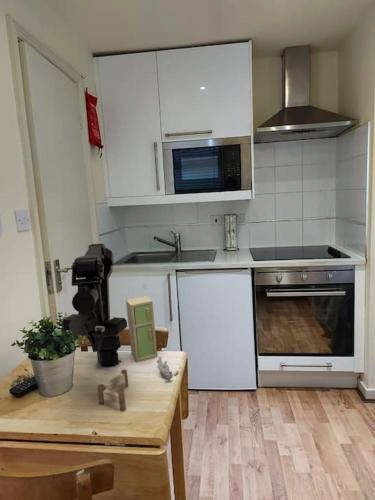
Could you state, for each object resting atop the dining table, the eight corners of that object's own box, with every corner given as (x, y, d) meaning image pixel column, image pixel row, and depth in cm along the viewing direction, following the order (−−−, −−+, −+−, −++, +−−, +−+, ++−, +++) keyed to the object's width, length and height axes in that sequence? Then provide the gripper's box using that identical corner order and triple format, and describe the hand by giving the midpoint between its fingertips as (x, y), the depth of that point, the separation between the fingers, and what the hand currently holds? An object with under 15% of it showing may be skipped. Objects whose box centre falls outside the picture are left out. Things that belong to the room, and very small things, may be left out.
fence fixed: (98, 406, 98) (96, 387, 97) (102, 402, 100) (100, 383, 98) (123, 414, 94) (121, 395, 93) (127, 410, 95) (125, 391, 94)
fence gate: (125, 383, 107) (124, 368, 106) (129, 385, 106) (127, 370, 105) (104, 399, 100) (102, 383, 99) (107, 401, 99) (106, 384, 98)
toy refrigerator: (136, 363, 120) (130, 305, 116) (130, 354, 127) (125, 299, 123) (158, 357, 123) (153, 301, 119) (151, 349, 130) (147, 295, 126)
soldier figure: (173, 366, 119) (185, 372, 108) (165, 379, 117) (177, 386, 106) (155, 353, 117) (166, 358, 106) (147, 366, 116) (156, 372, 105)
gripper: (45, 308, 95) (52, 361, 98) (104, 312, 89) (110, 369, 92) (70, 295, 106) (77, 343, 109) (125, 298, 99) (130, 349, 102)
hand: (97, 351), depth 103 cm, fingers closed
